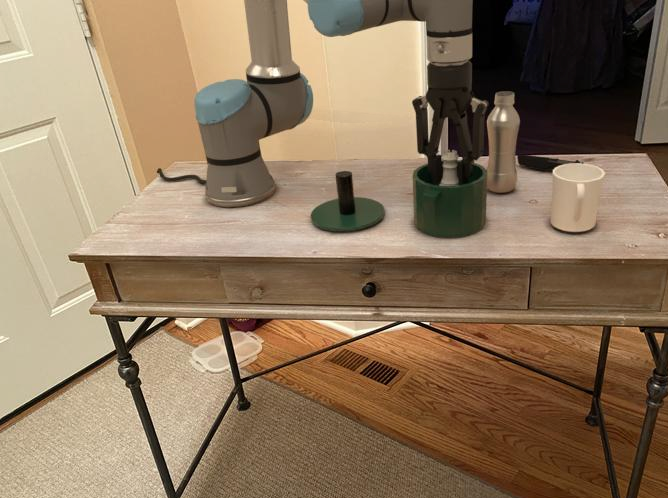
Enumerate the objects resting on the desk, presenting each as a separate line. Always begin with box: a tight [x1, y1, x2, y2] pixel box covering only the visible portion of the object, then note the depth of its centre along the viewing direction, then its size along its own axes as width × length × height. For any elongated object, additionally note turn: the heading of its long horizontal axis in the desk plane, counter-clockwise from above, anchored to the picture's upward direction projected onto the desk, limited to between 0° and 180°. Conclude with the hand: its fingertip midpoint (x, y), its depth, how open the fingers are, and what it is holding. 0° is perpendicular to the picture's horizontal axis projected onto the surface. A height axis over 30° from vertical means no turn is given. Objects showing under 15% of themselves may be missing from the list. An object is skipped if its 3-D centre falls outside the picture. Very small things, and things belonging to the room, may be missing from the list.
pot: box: [412, 159, 488, 239], centre depth 115 cm, size 14×19×10 cm
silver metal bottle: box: [486, 91, 521, 194], centre depth 124 cm, size 6×7×20 cm
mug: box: [549, 163, 606, 235], centre depth 110 cm, size 11×9×10 cm
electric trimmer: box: [516, 153, 585, 172], centre depth 136 cm, size 4×16×3 cm, turn 58°
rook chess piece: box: [439, 149, 460, 186], centre depth 112 cm, size 4×4×8 cm
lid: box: [310, 170, 386, 232], centre depth 120 cm, size 15×15×9 cm
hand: (450, 191), depth 114 cm, fingers closed on rook chess piece, 4 cm apart
